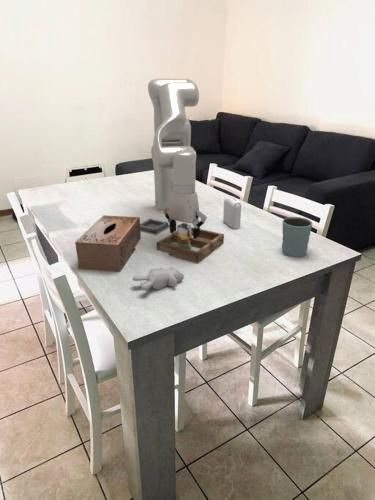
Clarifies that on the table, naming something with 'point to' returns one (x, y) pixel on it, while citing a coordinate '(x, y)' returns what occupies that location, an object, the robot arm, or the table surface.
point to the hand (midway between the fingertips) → (184, 234)
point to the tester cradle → (153, 226)
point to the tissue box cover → (108, 243)
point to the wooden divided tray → (192, 245)
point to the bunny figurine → (160, 278)
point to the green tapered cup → (296, 236)
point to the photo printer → (232, 212)
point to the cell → (184, 235)
